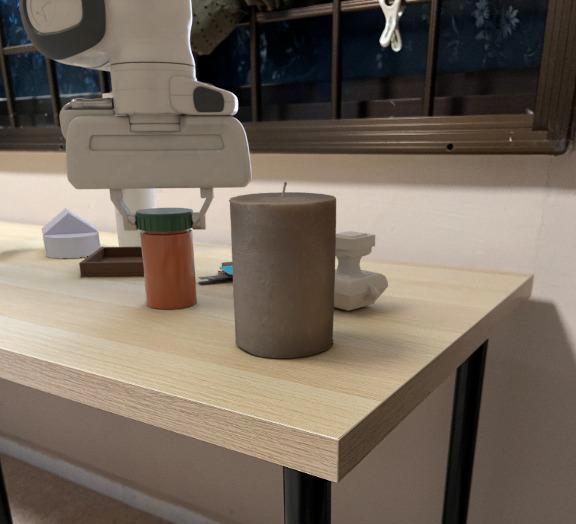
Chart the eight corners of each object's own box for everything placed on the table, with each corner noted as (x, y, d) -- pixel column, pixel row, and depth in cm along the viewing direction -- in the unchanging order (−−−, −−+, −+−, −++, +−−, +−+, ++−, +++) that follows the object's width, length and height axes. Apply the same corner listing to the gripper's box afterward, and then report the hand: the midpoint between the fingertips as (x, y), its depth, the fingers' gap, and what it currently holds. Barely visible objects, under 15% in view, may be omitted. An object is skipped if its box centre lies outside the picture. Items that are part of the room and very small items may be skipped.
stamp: (300, 304, 73) (301, 232, 70) (338, 294, 77) (340, 226, 74) (357, 319, 67) (360, 242, 63) (395, 308, 71) (400, 235, 68)
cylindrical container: (134, 252, 105) (118, 92, 95) (111, 248, 109) (93, 94, 100) (167, 247, 110) (155, 94, 100) (144, 243, 114) (130, 95, 105)
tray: (80, 276, 88) (78, 263, 87) (102, 259, 100) (101, 246, 99) (166, 275, 88) (165, 261, 87) (177, 258, 100) (176, 246, 99)
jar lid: (182, 232, 67) (180, 214, 66) (126, 231, 68) (125, 213, 67) (202, 224, 73) (201, 208, 72) (151, 223, 74) (149, 207, 73)
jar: (142, 309, 71) (133, 220, 67) (151, 297, 76) (143, 214, 73) (194, 308, 71) (188, 220, 67) (199, 296, 77) (193, 213, 73)
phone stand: (214, 294, 78) (213, 281, 77) (189, 275, 88) (188, 264, 87) (351, 279, 85) (352, 267, 84) (314, 264, 95) (314, 253, 94)
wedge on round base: (44, 247, 110) (46, 260, 99) (38, 209, 108) (39, 217, 97) (96, 244, 113) (103, 256, 102) (91, 206, 111) (98, 214, 100)
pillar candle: (340, 331, 63) (344, 178, 57) (324, 363, 54) (327, 187, 48) (250, 325, 65) (245, 177, 59) (220, 355, 56) (211, 185, 50)
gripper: (47, 96, 62) (67, 235, 67) (249, 95, 63) (253, 232, 68) (65, 99, 68) (82, 227, 73) (249, 98, 69) (253, 224, 74)
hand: (166, 229), depth 70 cm, fingers closed on jar lid, 6 cm apart
